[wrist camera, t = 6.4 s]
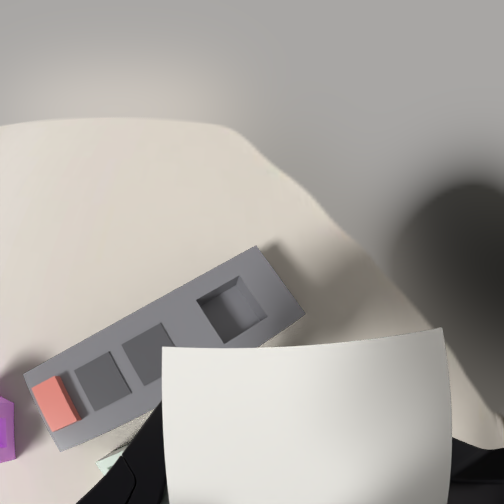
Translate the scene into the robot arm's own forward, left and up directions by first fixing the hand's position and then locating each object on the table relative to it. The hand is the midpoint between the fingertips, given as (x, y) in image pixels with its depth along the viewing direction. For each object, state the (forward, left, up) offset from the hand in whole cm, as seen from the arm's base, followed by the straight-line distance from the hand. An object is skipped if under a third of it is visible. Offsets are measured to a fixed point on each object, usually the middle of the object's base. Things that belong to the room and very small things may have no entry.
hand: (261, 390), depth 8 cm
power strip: (+4, +3, -12) cm, 13 cm away
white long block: (-1, +1, -6) cm, 6 cm away
